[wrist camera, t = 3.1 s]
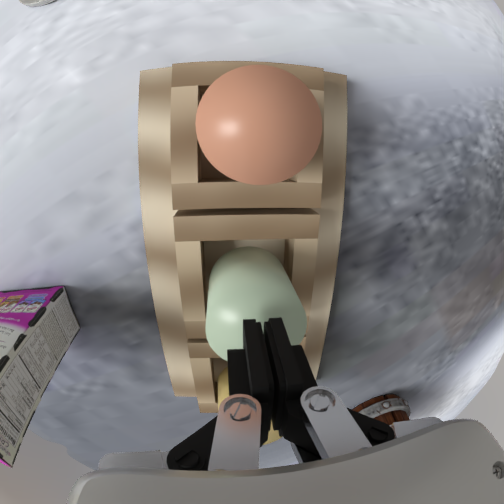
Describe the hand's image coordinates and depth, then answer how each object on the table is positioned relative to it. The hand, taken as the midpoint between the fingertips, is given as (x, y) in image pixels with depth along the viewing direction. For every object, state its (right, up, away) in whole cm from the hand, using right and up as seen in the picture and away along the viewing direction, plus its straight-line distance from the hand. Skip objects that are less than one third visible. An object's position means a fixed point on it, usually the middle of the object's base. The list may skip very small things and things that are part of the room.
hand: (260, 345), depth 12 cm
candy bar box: (-22, -2, +9) cm, 24 cm away
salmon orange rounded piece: (-1, +11, +2) cm, 11 cm away
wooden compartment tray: (-1, +3, +9) cm, 10 cm away
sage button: (-1, +2, +5) cm, 6 cm away
